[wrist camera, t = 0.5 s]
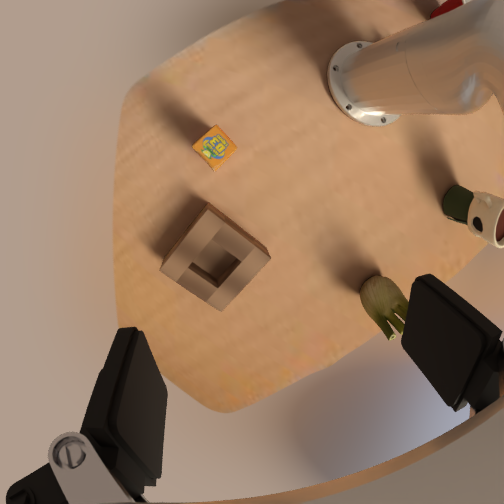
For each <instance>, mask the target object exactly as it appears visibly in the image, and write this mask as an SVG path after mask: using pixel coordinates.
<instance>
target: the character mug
mask: <svg viewBox="0 0 504 504" xmlns="http://www.w3.org/2000/svg"><path fill="white" fill-rule="evenodd" d="M443 209H444V213H445V214H447V215H449V216H451V217H452V218H453V219H451V218H448V217H447V218H448V219H450V220H453V221H456V222H459V223H462V224H466V225H468V228H469V230H470V231H471V232H472V233H473V234H474V235H475V236H477V237H481V238H483V239H484V240H485V241H487V242H488V243H490V244H492V245H494V246H496V247H498V248H503V247H504V199H502V198H500V197H497V196H494V195H492V194H489V193H486V192H479V191H474V193H473V192H471V191H469V190H467V189H466V188H464V187H462V186H459V185H456V186H453V187H452V188H451V189H450V190H449V191H448V193H447V194H446V196H445V197H444V203H443Z"/></svg>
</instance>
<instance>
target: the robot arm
mask: <svg viewBox="0 0 504 504" xmlns="http://www.w3.org/2000/svg"><path fill="white" fill-rule="evenodd" d="M357 46H358V47H357ZM333 68H334V69H335V71H334V70H333ZM327 79H328V85H329V89H330V92H331V94H332V97H333V99H334V101H335V102H336V104H337V105H338V107H339V108H340V109H341V110H342V111H343V112H344V113H345V114H346V115H347V116H348V117H350V118H351V119H353V120H354V121H356V122H358V123H360V124H363V125H367V126H385V125H388V124H390V123H393V122H394V121H395V120H397V119H398V118H399V117H400V116H401V115H403V114H440V115H467V114H471V113H474V112H476V111H478V110H479V109H481V108H482V107H483V106H484V105H485V104H486V103H487V102H488V101H489V99H490V98H491V96H492V95H493V93H494V94H495V96H496V98H497V99H498V102H499V104H500V106H501V109H502V112H503V114H504V0H471V1H469V2H467V3H466V4H464V5H462V6H460V7H457V8H455V9H454V10H452V11H449V12H447V13H444V14H442V15H439V16H437V17H435V18H432V19H430V20H427V21H424V22H422V23H419V24H417V25H414V26H412V27H409V28H407V29H404V30H402V31H400V32H397V33H395V34H393V35H390V36H388V37H386V38H384V39H381V40H379V41H377V42H375V43H371V42H368V41H354V42H350V43H348V44H345V45H344V46H342V47H341V48H339V49H338V50H337V51H336V52H335V53H334V55H333V56H332V58H331V60H330V62H329V65H328V71H327ZM346 106H347V107H348V108H347V109H346ZM501 334H502V331H501V330H500V329H499V328H498V327H497V326H496V325H494V324H493V323H492V322H491V321H490V320H489V319H487V318H486V317H485V316H484V315H483V314H482V313H480V312H479V311H478V310H477V309H475V308H474V307H473V306H472V305H471V304H469V303H468V302H467V301H466V300H464V299H463V298H462V297H461V296H459V295H458V294H457V293H456V292H454V291H453V290H452V289H450V288H449V287H448V286H447V285H445V284H444V283H443V282H441V281H440V280H439V279H437V278H436V277H435V276H434V275H432V274H426V275H422V276H418V277H417V278H416V279H415V281H414V282H413V284H412V287H411V293H410V299H409V305H408V310H407V315H406V320H405V325H404V329H403V334H402V338H401V344H402V347H403V349H404V350H405V351H406V352H407V353H408V355H409V356H410V357H411V359H412V360H413V361H414V362H415V364H416V365H417V366H418V368H419V369H420V370H421V371H422V373H423V374H424V375H425V377H426V378H427V379H428V380H429V382H430V383H431V384H432V386H433V387H434V388H435V390H436V391H437V392H438V394H439V395H440V396H441V398H442V399H443V400H444V402H445V403H446V404H447V405H448V406H451V407H452V408H453V410H454V411H455V412H457V411H458V410H460V409H462V408H463V407H465V406H466V405H467V403H469V404H470V405H471V406H470V417H469V419H468V420H466V421H465V422H463V423H461V424H460V425H458V426H456V427H455V428H453V429H451V430H450V431H448V432H446V433H444V434H443V435H441V436H439V437H437V438H435V439H433V440H431V441H429V442H427V443H425V444H424V445H422V446H420V447H417V448H415V449H414V450H411V451H409V452H407V453H405V454H403V455H400V456H398V457H396V458H393V459H391V460H389V461H386V462H384V463H381V464H379V465H376V466H373V467H371V468H368V469H365V470H363V471H360V472H357V473H354V474H351V475H348V476H345V477H341V478H338V479H335V480H332V481H328V482H325V483H321V484H317V485H313V486H309V487H305V488H301V489H297V490H292V491H287V492H282V493H277V494H271V495H265V496H258V497H251V498H245V499H244V498H243V499H235V500H223V501H212V502H193V503H150V502H149V501H148V500H147V499H146V498H145V497H144V495H143V493H144V486H156V478H158V479H159V478H161V473H162V456H163V442H164V429H165V417H166V406H167V396H168V394H167V388H166V385H165V383H164V381H163V378H162V376H161V374H160V372H159V369H158V367H157V365H156V362H155V360H154V357H153V355H152V352H151V350H150V348H149V345H148V342H147V340H146V337H145V335H144V333H143V331H138V329H137V328H136V327H127V328H119V329H118V331H117V333H116V336H115V339H114V341H113V344H112V346H111V349H110V351H109V354H108V356H107V359H106V362H105V364H104V367H103V369H102V370H101V371H100V373H99V375H98V378H97V381H96V384H95V387H94V390H93V392H92V395H91V398H90V401H89V404H88V407H87V410H86V414H85V417H84V420H83V423H82V427H81V430H80V433H77V432H67V433H64V434H61V435H60V436H58V437H57V438H56V439H55V440H54V441H53V442H52V443H51V445H50V448H49V450H48V459H49V463H47V464H46V465H44V466H42V467H41V468H39V469H38V470H36V471H34V472H33V473H31V474H30V475H28V476H26V477H24V478H23V479H21V480H19V481H17V482H16V483H14V484H13V485H12V486H11V487H10V488H9V490H8V492H7V495H6V504H504V338H503V341H502V342H501V341H500V340H499V338H500V336H501Z"/></svg>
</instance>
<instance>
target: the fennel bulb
mask: <svg viewBox="0 0 504 504" xmlns="http://www.w3.org/2000/svg"><path fill="white" fill-rule="evenodd" d="M360 298H361V303H362V305H363V307H364V309H365V310H366V312H367V313H368V315H369V316H370V317H371V318H372V319H373V320H374V321H375V322H376V323H377V325H378V326H379V327H380V328H381V330H382V331H383V332H384V334H385V335H386V337H387V338H388V340H389V341H390V340H393V339H395V338H396V335H395V333H394V332H393V330H392V328H391V327H390V325H389V323H388V322H387V320H388V321H389V322H390V323H391V324H392V325H393V326H394V327H395V329H396V330H397V331H398V332H399V333H400V334H401V335H402V334H403V329H404V325H405V324H404V323H403V322H402V321H401V320H400V319H399V318H398V317H397V316H396V315H395V314H394V313H396V314H398V315H399V316H400V317H401V318H402V319H403V320H404V321H405V320H406V315H407V310H408V305H409V302H408V301H407V299H406V298H405V296H404V295H403V293H402V292H401V290H400V289H399V287H398V286H397V285H396V284H395V283H394V282H393V281H392V280H391V279H389V278H387V277H382V276H373V277H371V278H369V279H368V280H367V281H365V283H364V284H363V285H362V287H361V290H360Z"/></svg>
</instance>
